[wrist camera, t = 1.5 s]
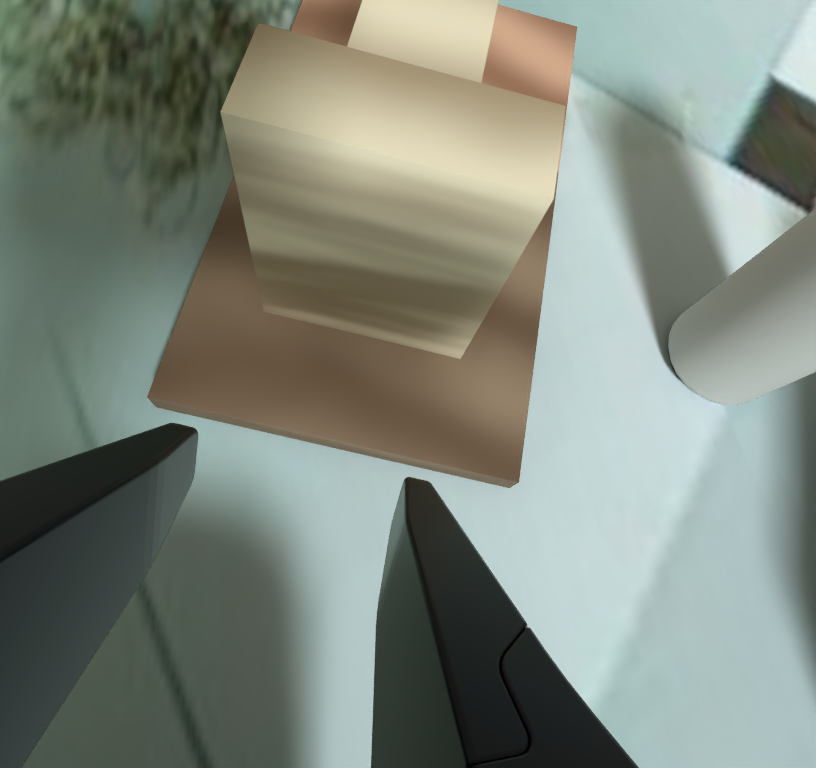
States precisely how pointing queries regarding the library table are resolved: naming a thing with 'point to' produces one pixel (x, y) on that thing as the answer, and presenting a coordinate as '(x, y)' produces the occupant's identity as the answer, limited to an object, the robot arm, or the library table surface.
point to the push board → (364, 356)
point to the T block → (388, 172)
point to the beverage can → (753, 324)
